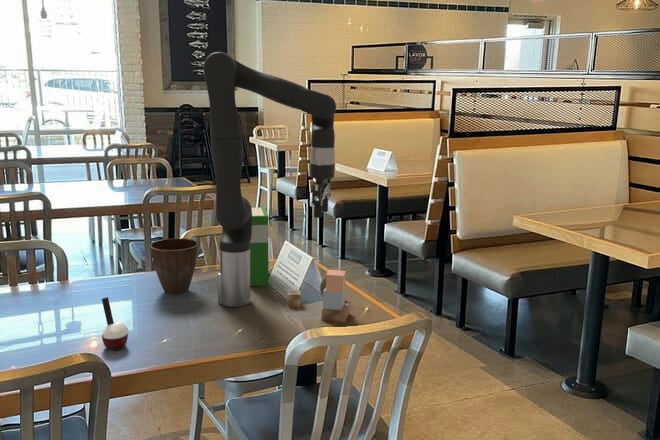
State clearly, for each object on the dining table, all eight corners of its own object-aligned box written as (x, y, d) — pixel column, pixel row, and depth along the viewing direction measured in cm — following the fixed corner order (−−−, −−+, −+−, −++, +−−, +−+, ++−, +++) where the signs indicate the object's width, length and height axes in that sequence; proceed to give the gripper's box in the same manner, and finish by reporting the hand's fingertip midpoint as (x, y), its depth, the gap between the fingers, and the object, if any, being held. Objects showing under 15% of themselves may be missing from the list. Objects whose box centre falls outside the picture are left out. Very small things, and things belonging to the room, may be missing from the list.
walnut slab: (321, 321, 182) (321, 309, 181) (326, 312, 189) (326, 301, 188) (345, 323, 181) (345, 312, 180) (349, 314, 187) (349, 303, 187)
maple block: (287, 307, 192) (287, 294, 191) (286, 302, 195) (286, 290, 195) (300, 306, 192) (300, 294, 191) (299, 302, 196) (299, 290, 195)
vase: (339, 303, 195) (339, 276, 194) (317, 301, 197) (318, 275, 195) (343, 296, 202) (343, 270, 200) (322, 294, 203) (322, 268, 201)
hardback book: (243, 270, 227) (242, 205, 221) (263, 269, 228) (263, 205, 223) (246, 286, 210) (245, 216, 204) (268, 285, 211) (268, 216, 206)
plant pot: (142, 294, 199) (139, 246, 195) (171, 281, 212) (169, 236, 209) (181, 302, 193) (179, 252, 190) (208, 288, 207) (207, 241, 203)
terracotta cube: (325, 291, 181) (326, 274, 179) (328, 285, 185) (329, 269, 184) (342, 292, 180) (343, 276, 179) (345, 287, 185) (345, 270, 184)
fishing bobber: (129, 353, 158) (129, 309, 155) (103, 356, 156) (102, 311, 153) (126, 337, 167) (125, 295, 164) (101, 339, 164) (100, 297, 161)
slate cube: (322, 308, 182) (323, 290, 181) (326, 302, 187) (327, 284, 186) (341, 310, 181) (341, 292, 180) (344, 304, 186) (345, 286, 185)
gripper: (315, 158, 195) (314, 209, 198) (304, 164, 181) (303, 218, 185) (339, 159, 193) (337, 210, 197) (329, 165, 180) (327, 220, 183)
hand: (321, 214), depth 191 cm, fingers open, 8 cm apart
